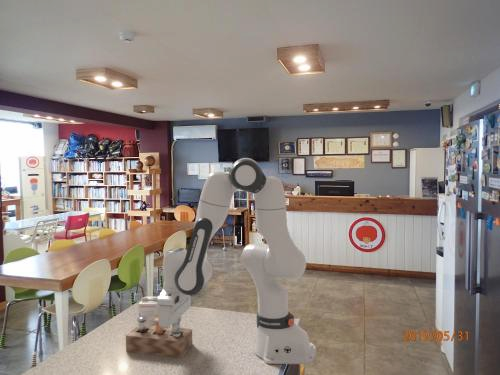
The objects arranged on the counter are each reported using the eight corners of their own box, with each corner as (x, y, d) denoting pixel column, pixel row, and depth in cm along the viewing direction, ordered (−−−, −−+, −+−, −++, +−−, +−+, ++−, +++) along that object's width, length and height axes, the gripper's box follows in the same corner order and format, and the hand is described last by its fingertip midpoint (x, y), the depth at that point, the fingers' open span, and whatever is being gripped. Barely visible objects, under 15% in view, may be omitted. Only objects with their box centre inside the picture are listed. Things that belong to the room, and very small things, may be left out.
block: (192, 344, 139) (192, 329, 138) (181, 357, 129) (181, 341, 128) (140, 338, 144) (140, 323, 143) (126, 351, 134) (125, 335, 134)
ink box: (164, 322, 159) (163, 292, 158) (159, 331, 150) (158, 299, 150) (145, 322, 159) (144, 292, 158) (138, 331, 151) (137, 299, 150)
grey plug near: (183, 344, 136) (183, 327, 136) (179, 348, 132) (179, 331, 132) (174, 343, 137) (174, 326, 136) (170, 347, 133) (169, 330, 133)
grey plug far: (149, 332, 139) (148, 316, 139) (144, 336, 136) (144, 320, 135) (140, 331, 140) (140, 315, 140) (135, 335, 136) (135, 319, 136)
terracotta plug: (166, 334, 137) (165, 317, 137) (161, 338, 134) (161, 321, 134) (157, 333, 138) (157, 317, 138) (152, 337, 135) (152, 321, 134)
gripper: (179, 283, 144) (180, 317, 145) (154, 301, 124) (155, 340, 125) (194, 284, 143) (195, 318, 143) (171, 302, 123) (172, 342, 124)
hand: (176, 329), depth 134 cm, fingers closed
